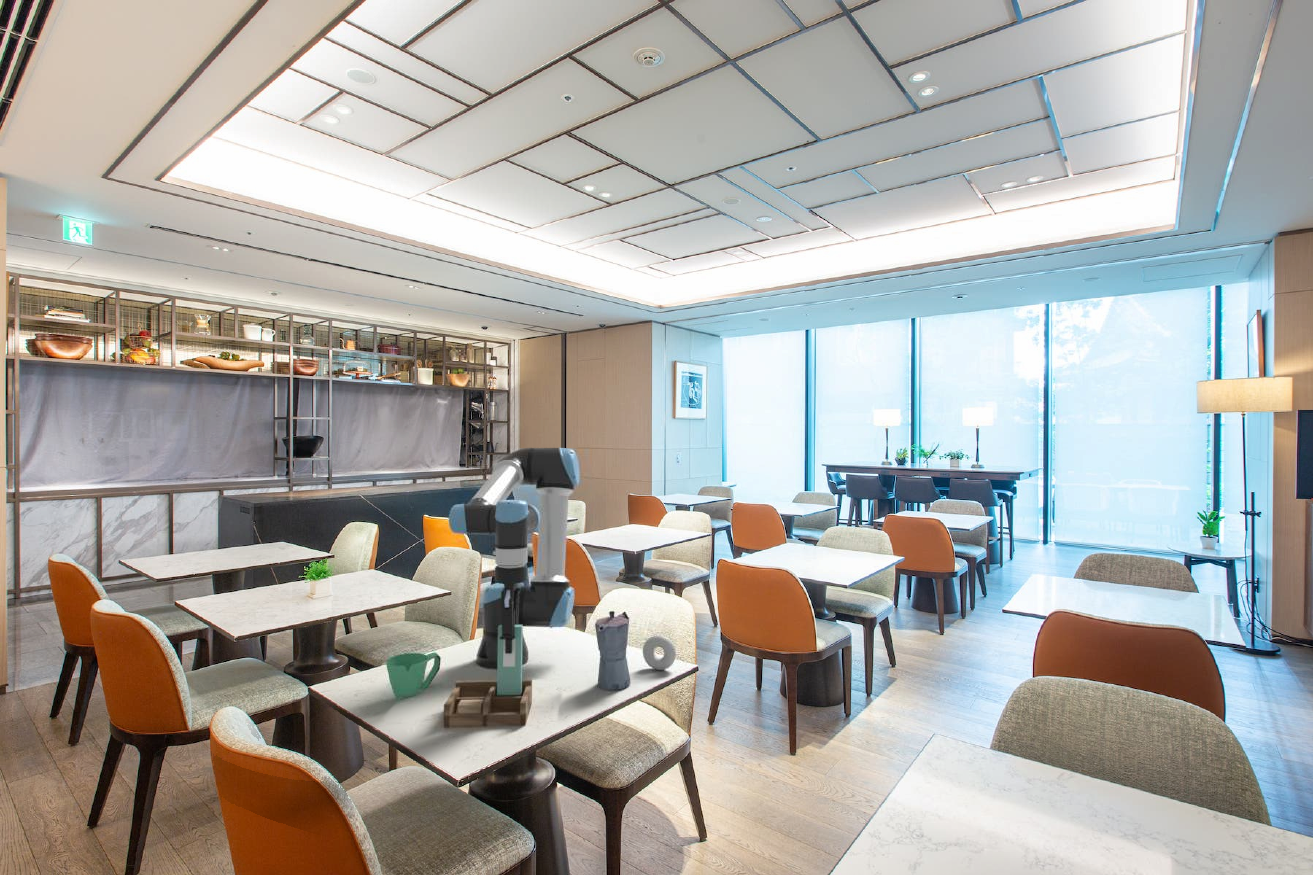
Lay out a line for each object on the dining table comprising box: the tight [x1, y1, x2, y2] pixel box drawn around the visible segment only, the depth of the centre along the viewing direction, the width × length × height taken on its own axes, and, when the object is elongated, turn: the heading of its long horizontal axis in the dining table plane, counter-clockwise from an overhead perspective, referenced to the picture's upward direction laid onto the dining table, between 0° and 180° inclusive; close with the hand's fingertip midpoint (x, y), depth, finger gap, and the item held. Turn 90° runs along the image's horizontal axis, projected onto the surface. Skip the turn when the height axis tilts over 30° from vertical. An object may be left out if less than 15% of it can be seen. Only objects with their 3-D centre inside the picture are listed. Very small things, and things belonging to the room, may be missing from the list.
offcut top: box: [458, 700, 484, 714], centre depth 147 cm, size 3×5×2 cm, turn 94°
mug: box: [385, 652, 442, 702], centre depth 165 cm, size 15×10×10 cm
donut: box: [642, 634, 677, 671], centre depth 185 cm, size 10×4×10 cm, turn 71°
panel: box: [496, 625, 524, 695], centre depth 153 cm, size 2×6×16 cm, turn 94°
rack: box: [443, 678, 533, 729], centre depth 150 cm, size 12×18×8 cm, turn 94°
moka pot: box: [594, 610, 631, 691], centre depth 174 cm, size 10×15×20 cm, turn 158°
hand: (509, 663), depth 153 cm, fingers closed on panel, 2 cm apart
